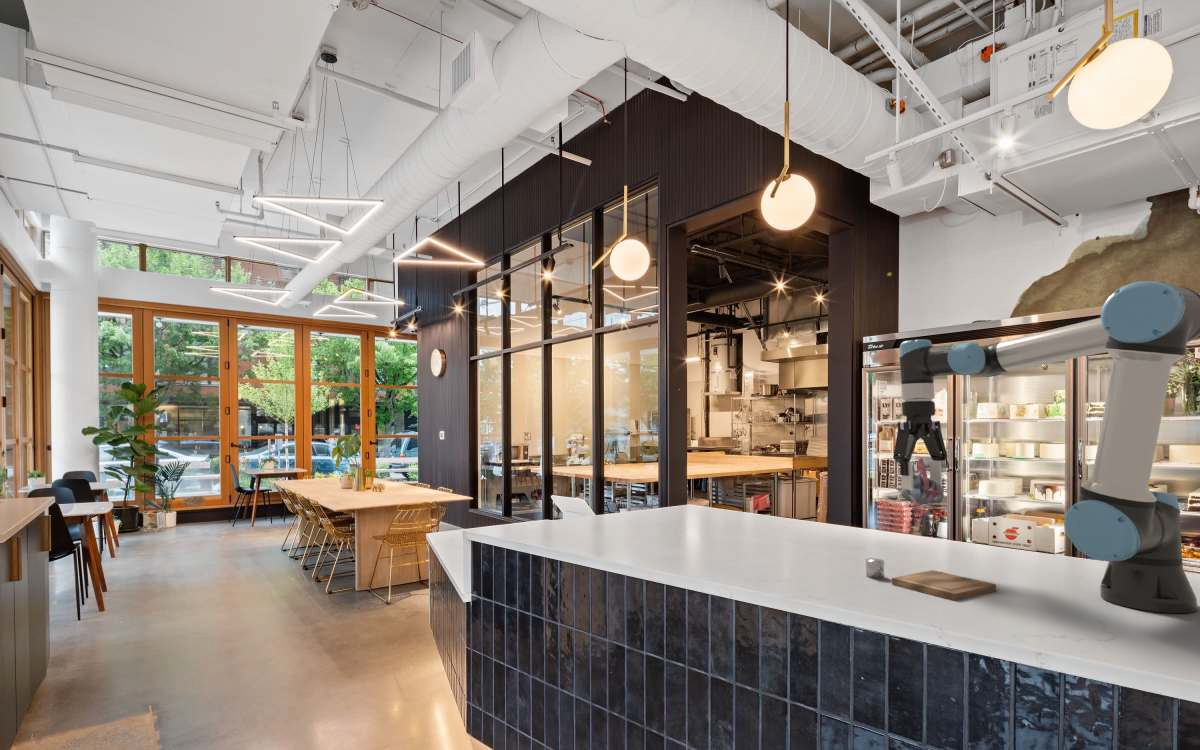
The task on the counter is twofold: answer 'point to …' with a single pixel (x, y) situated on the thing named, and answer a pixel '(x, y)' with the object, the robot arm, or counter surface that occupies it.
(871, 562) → the grey metallic cube
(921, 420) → the robot arm
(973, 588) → the stand
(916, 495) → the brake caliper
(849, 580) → the counter surface
